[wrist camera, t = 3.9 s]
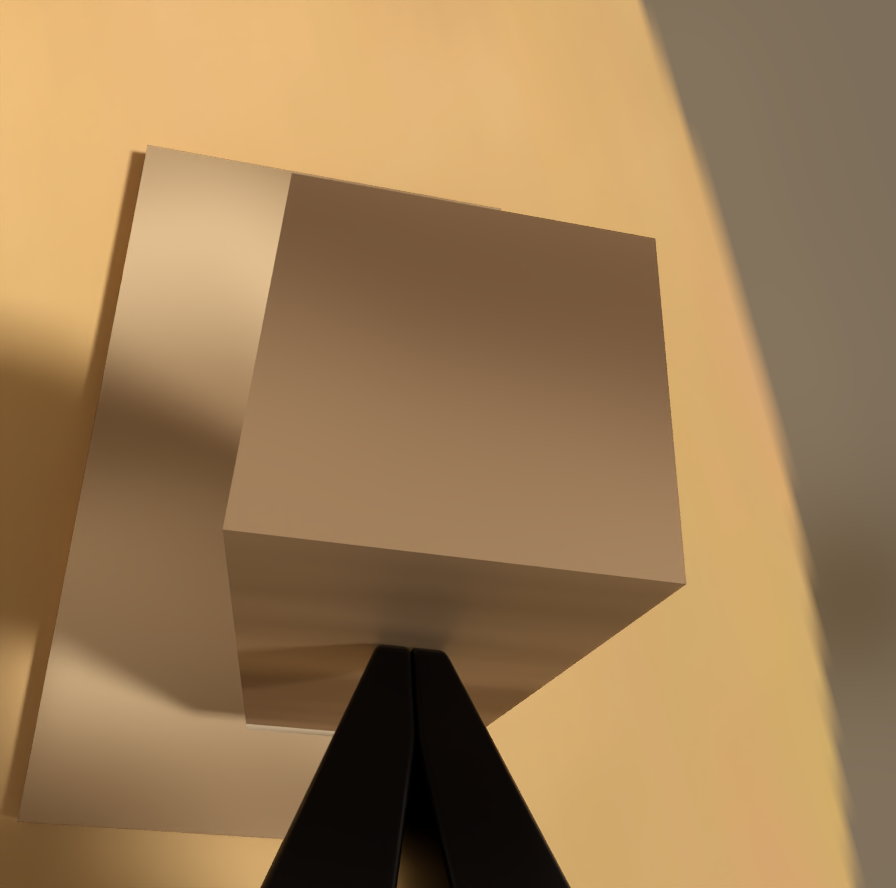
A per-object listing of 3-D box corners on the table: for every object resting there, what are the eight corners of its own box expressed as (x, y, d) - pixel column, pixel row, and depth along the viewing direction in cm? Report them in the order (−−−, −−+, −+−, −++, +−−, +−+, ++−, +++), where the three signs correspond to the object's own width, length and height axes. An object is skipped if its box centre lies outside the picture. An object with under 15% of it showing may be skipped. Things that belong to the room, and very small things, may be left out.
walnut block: (457, 746, 16) (686, 583, 7) (246, 729, 15) (222, 529, 7) (466, 551, 18) (655, 238, 9) (278, 529, 17) (291, 172, 9)
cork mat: (432, 842, 17) (435, 849, 17) (24, 816, 16) (17, 822, 16) (497, 216, 20) (501, 208, 19) (151, 154, 19) (147, 144, 18)
